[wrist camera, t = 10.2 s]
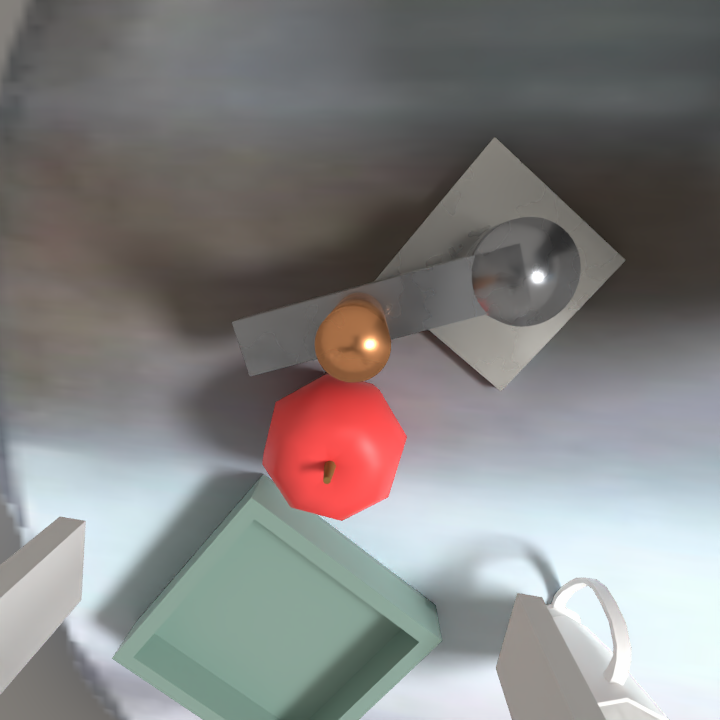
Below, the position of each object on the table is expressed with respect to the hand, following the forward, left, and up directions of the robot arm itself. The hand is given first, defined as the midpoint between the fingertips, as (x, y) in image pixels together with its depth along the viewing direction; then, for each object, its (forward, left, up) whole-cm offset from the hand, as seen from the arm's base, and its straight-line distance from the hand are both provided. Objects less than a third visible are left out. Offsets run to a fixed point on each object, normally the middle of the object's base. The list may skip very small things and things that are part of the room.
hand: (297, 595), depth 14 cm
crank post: (-13, +1, -15) cm, 20 cm away
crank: (-8, -2, -12) cm, 15 cm away
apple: (0, 0, -15) cm, 15 cm away
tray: (+13, +6, -15) cm, 21 cm away
